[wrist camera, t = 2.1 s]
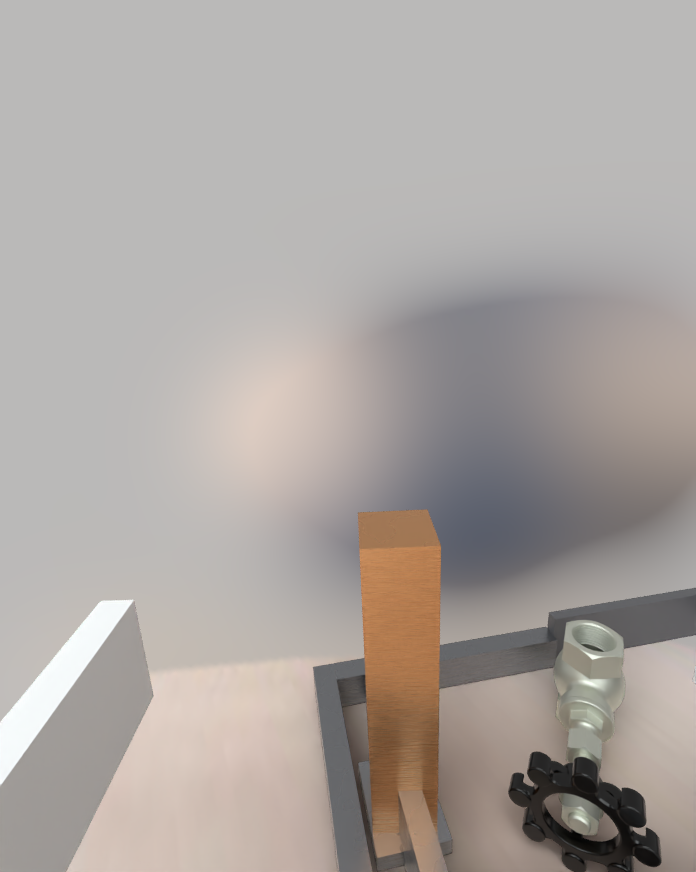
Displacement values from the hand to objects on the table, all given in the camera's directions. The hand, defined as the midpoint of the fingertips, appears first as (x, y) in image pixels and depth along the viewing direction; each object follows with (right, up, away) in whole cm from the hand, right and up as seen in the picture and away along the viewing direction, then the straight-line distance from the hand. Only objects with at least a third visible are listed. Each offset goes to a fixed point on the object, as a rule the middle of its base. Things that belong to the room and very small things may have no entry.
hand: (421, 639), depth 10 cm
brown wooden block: (+1, -17, +15) cm, 23 cm away
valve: (+13, -16, +17) cm, 27 cm away
